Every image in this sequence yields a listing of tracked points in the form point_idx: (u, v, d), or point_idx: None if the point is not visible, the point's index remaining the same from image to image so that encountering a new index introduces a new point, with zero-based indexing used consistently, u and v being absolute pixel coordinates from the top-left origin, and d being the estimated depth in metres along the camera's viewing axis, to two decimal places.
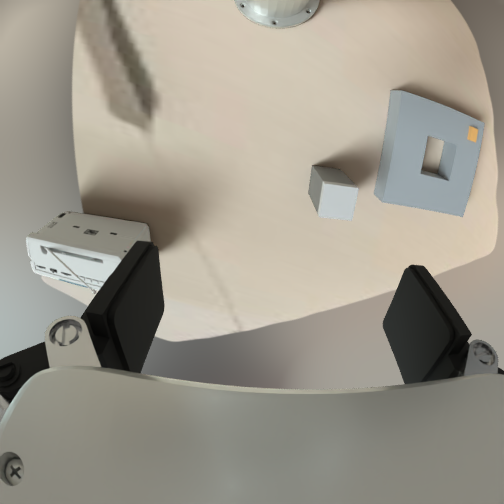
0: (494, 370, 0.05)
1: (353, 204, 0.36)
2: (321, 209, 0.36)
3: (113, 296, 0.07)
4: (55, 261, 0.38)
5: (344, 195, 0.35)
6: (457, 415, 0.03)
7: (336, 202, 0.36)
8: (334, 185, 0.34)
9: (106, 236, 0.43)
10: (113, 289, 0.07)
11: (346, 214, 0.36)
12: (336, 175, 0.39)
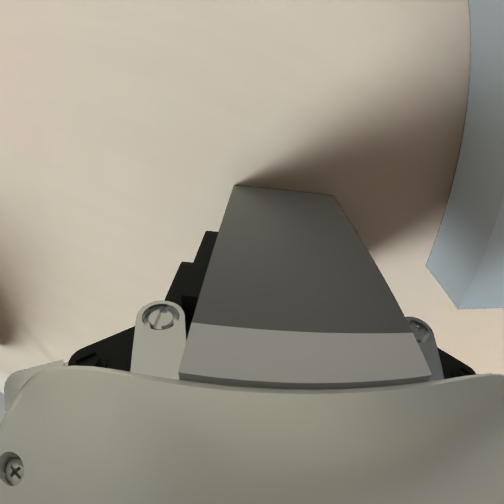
0: (432, 345, 0.06)
1: None
2: None
3: None
4: None
5: None
6: (457, 415, 0.03)
7: None
8: (256, 384, 0.04)
9: None
10: (202, 274, 0.08)
11: None
12: (311, 237, 0.09)
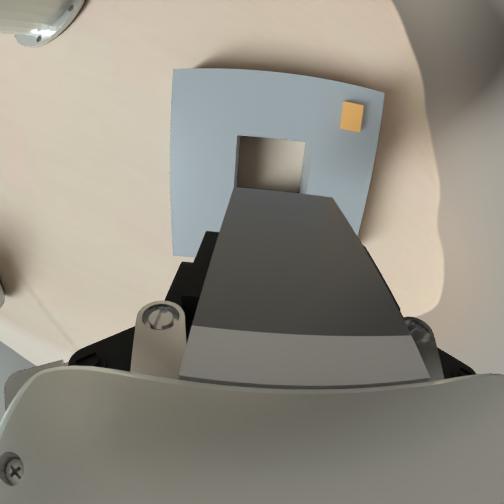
0: (432, 344, 0.06)
1: None
2: None
3: None
4: None
5: None
6: (457, 415, 0.03)
7: None
8: (256, 387, 0.04)
9: None
10: (202, 274, 0.08)
11: None
12: (311, 240, 0.09)
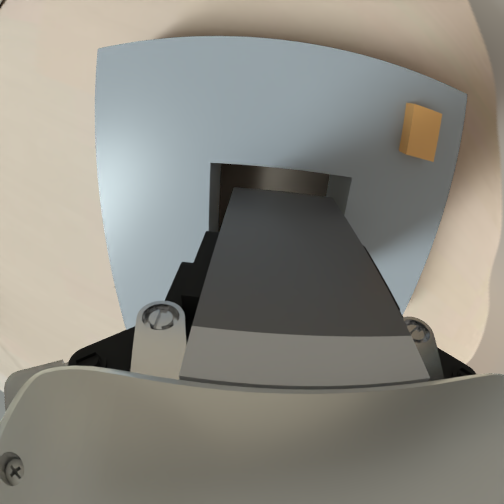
0: (432, 344, 0.06)
1: None
2: None
3: None
4: None
5: None
6: (457, 415, 0.03)
7: None
8: None
9: None
10: (202, 274, 0.08)
11: None
12: (311, 240, 0.09)
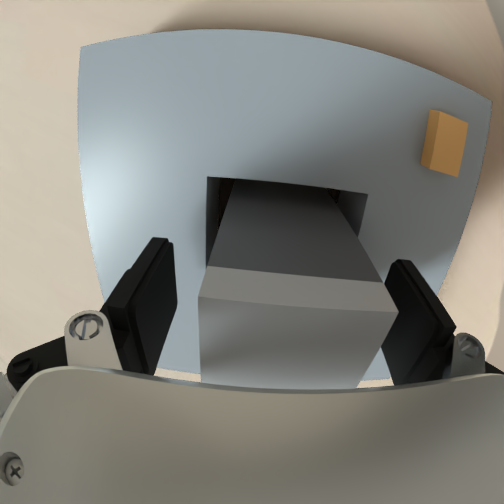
0: (481, 363, 0.06)
1: (357, 372, 0.07)
2: None
3: (134, 291, 0.07)
4: None
5: (317, 346, 0.07)
6: (457, 415, 0.03)
7: (274, 371, 0.07)
8: (257, 307, 0.06)
9: None
10: (133, 284, 0.07)
11: None
12: (302, 214, 0.11)
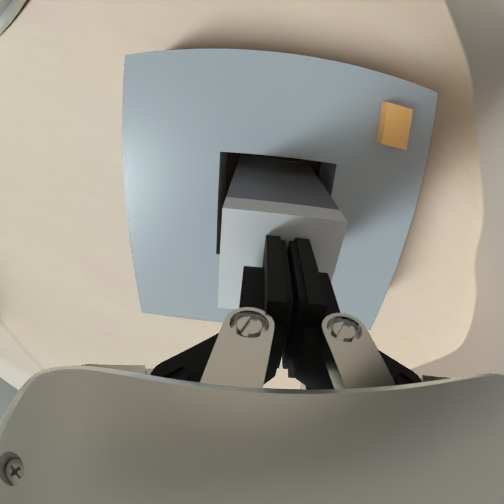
0: (367, 338, 0.07)
1: (327, 272, 0.11)
2: (221, 287, 0.12)
3: (285, 285, 0.08)
4: None
5: None
6: (457, 415, 0.03)
7: None
8: (257, 214, 0.10)
9: None
10: (279, 279, 0.08)
11: None
12: (288, 177, 0.15)
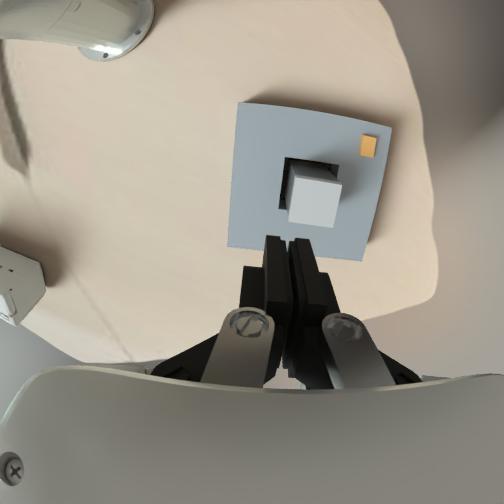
0: (366, 338, 0.07)
1: (335, 206, 0.28)
2: (291, 211, 0.28)
3: (285, 285, 0.08)
4: None
5: (322, 194, 0.27)
6: (457, 415, 0.03)
7: (312, 203, 0.28)
8: (308, 180, 0.27)
9: (5, 273, 0.39)
10: (279, 279, 0.08)
11: (325, 219, 0.28)
12: (316, 170, 0.31)
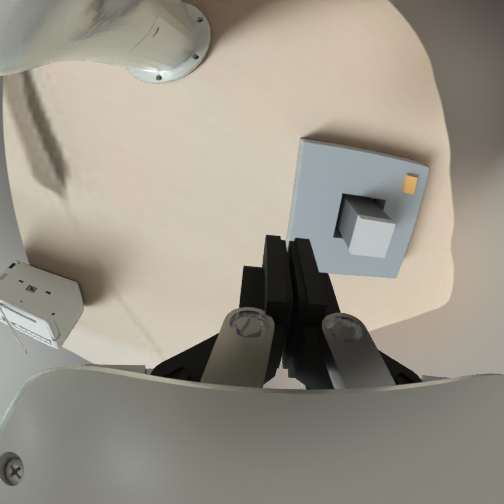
0: (367, 338, 0.07)
1: (388, 241, 0.32)
2: (354, 246, 0.32)
3: (285, 285, 0.08)
4: (4, 312, 0.38)
5: (380, 231, 0.31)
6: (457, 415, 0.03)
7: (371, 239, 0.32)
8: (370, 221, 0.30)
9: (42, 295, 0.42)
10: (279, 279, 0.08)
11: (379, 251, 0.32)
12: (368, 205, 0.35)
